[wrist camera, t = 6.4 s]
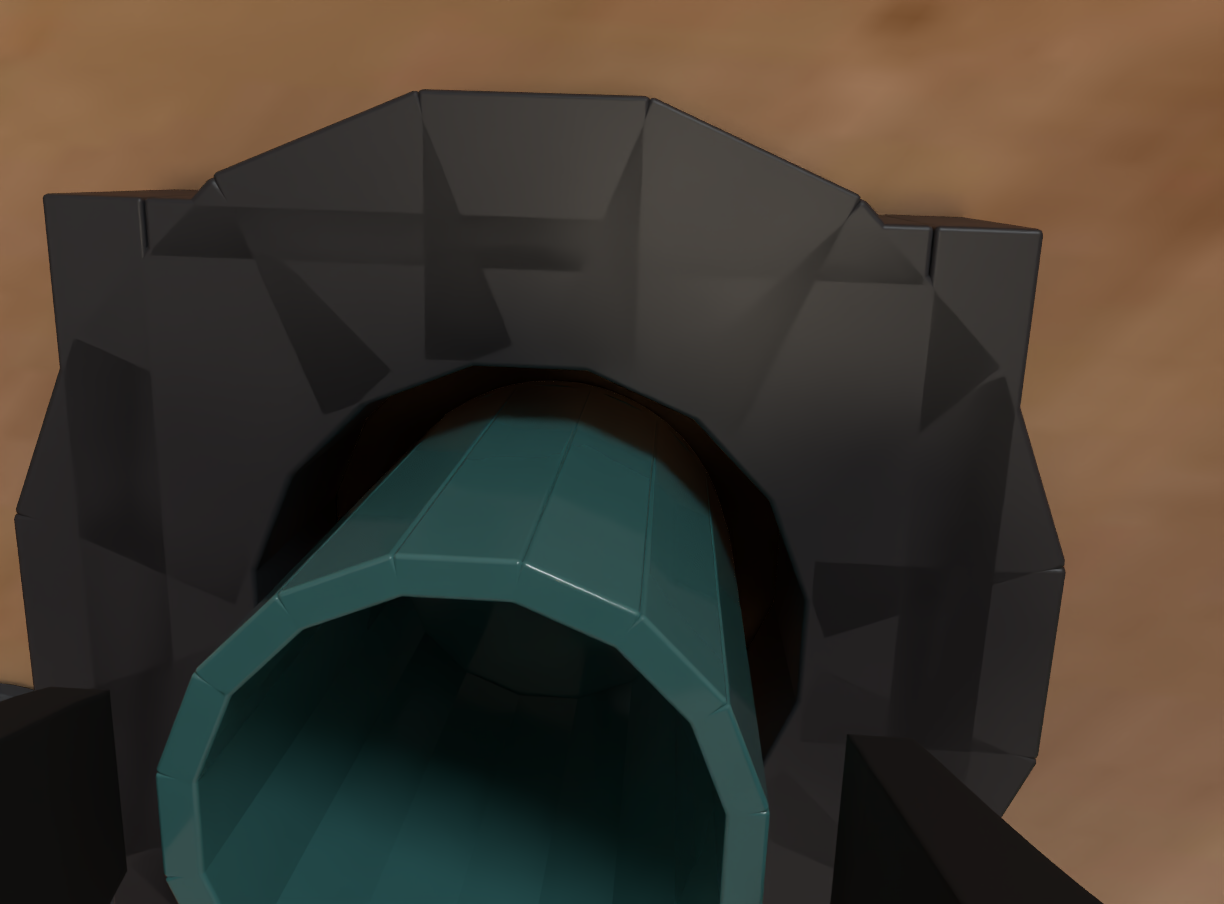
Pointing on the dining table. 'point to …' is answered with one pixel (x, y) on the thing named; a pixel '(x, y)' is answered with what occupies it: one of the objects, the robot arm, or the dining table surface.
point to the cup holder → (554, 339)
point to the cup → (487, 685)
